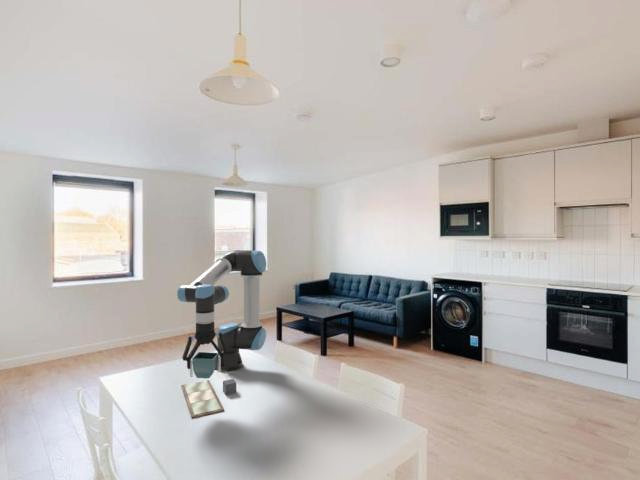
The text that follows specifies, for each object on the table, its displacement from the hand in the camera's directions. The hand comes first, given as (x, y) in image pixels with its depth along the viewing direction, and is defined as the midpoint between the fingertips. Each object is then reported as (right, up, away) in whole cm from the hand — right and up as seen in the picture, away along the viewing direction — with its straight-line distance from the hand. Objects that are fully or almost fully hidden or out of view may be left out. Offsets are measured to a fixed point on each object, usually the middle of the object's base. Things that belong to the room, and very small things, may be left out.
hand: (205, 373), depth 153 cm
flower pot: (0, -2, 0) cm, 2 cm away
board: (-5, -15, +10) cm, 18 cm away
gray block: (+6, -15, +16) cm, 23 cm away
